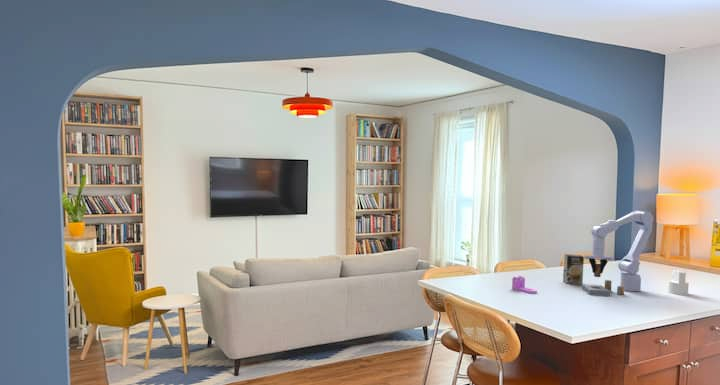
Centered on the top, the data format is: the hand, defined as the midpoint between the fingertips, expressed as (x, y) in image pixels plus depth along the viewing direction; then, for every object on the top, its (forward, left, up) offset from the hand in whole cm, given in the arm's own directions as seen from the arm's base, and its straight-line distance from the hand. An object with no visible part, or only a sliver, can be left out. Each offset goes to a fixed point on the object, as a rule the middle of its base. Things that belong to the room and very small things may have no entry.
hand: (597, 272), depth 267 cm
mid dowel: (-5, +2, -9) cm, 11 cm away
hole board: (+3, +8, -9) cm, 13 cm away
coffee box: (+9, -14, -9) cm, 19 cm away
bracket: (+40, +16, -9) cm, 44 cm away
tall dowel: (0, 0, -2) cm, 2 cm away
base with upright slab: (-42, -3, -9) cm, 43 cm away
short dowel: (-9, +9, -9) cm, 16 cm away
